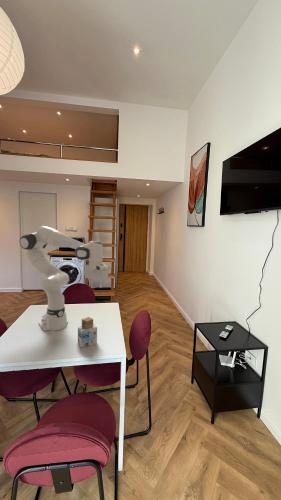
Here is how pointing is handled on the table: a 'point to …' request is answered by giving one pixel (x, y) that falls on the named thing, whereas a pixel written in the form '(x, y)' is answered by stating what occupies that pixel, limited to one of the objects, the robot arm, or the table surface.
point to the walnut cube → (87, 323)
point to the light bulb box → (87, 336)
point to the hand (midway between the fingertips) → (95, 286)
